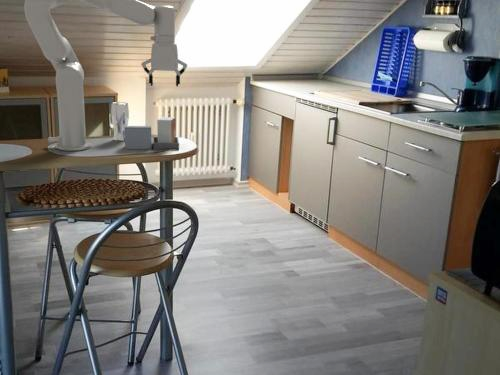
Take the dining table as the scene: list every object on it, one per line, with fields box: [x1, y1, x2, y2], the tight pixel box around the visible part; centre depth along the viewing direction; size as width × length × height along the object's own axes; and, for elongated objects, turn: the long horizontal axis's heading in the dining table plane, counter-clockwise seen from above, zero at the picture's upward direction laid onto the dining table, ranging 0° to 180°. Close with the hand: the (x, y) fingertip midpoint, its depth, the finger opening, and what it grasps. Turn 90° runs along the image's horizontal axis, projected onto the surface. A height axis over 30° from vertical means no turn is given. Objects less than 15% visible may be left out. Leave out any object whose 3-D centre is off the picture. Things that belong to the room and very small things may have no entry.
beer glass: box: [110, 101, 130, 142], centre depth 245 cm, size 7×7×15 cm
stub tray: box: [152, 136, 180, 151], centre depth 237 cm, size 10×12×2 cm
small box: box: [156, 116, 177, 143], centre depth 236 cm, size 8×6×10 cm
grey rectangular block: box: [124, 125, 153, 150], centre depth 233 cm, size 10×5×8 cm, turn 99°
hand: (164, 85), depth 231 cm, fingers open, 9 cm apart
